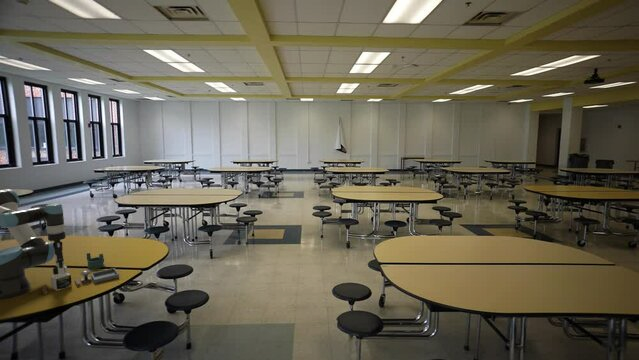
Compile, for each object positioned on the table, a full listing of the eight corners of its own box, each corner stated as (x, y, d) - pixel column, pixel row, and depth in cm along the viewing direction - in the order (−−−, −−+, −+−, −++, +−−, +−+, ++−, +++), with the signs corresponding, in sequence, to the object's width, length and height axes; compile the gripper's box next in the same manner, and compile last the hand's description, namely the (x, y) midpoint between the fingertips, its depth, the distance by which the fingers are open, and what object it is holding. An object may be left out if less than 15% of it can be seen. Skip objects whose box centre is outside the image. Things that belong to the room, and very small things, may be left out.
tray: (94, 283, 192) (94, 279, 191) (91, 277, 201) (91, 273, 200) (119, 278, 200) (118, 274, 199) (114, 271, 209) (114, 268, 208)
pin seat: (43, 294, 178) (43, 292, 178) (42, 288, 186) (42, 285, 186) (80, 285, 189) (80, 283, 189) (78, 280, 196) (78, 277, 196)
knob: (82, 282, 193) (81, 273, 193) (80, 280, 197) (80, 271, 196) (91, 280, 196) (90, 271, 196) (90, 278, 200) (89, 269, 199)
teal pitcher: (104, 267, 216) (103, 254, 215) (86, 270, 211) (85, 256, 210) (104, 263, 223) (103, 250, 222) (87, 265, 219) (86, 252, 218)
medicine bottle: (57, 291, 183) (54, 270, 181) (51, 288, 186) (49, 267, 185) (72, 286, 189) (70, 265, 187) (66, 283, 192) (64, 263, 191)
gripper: (67, 235, 177) (71, 274, 179) (62, 226, 195) (66, 262, 198) (49, 238, 172) (53, 278, 174) (46, 229, 190) (50, 265, 193)
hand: (60, 269), depth 186 cm, fingers open, 13 cm apart
